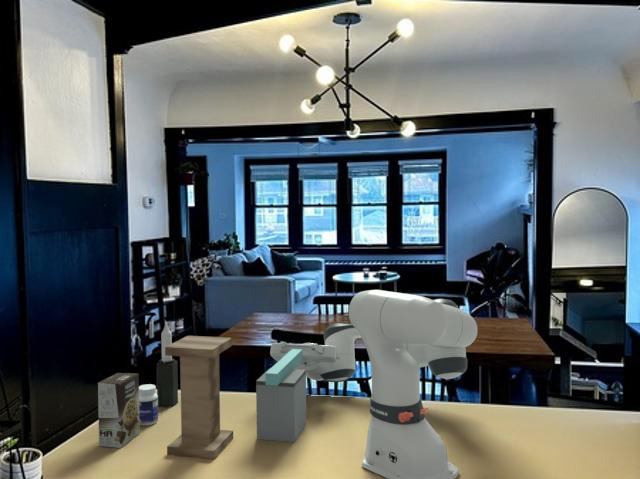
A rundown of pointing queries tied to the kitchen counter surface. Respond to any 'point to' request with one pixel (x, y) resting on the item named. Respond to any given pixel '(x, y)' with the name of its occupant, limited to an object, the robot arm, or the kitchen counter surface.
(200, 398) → the walnut stand
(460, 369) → the robot arm
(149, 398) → the pill bottle
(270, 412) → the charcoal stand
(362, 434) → the kitchen counter surface
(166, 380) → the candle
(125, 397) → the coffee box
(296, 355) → the teal bar
